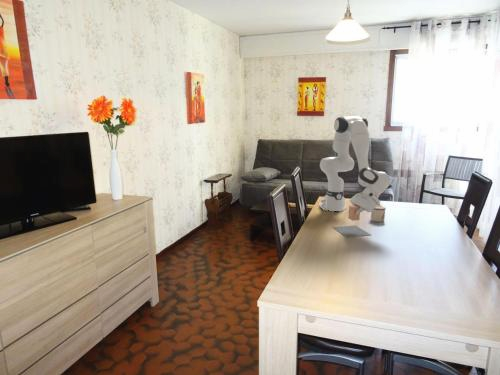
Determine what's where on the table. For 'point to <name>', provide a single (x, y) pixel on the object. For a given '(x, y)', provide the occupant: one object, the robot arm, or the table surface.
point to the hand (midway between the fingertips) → (353, 212)
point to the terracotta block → (353, 212)
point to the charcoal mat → (351, 231)
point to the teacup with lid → (378, 213)
